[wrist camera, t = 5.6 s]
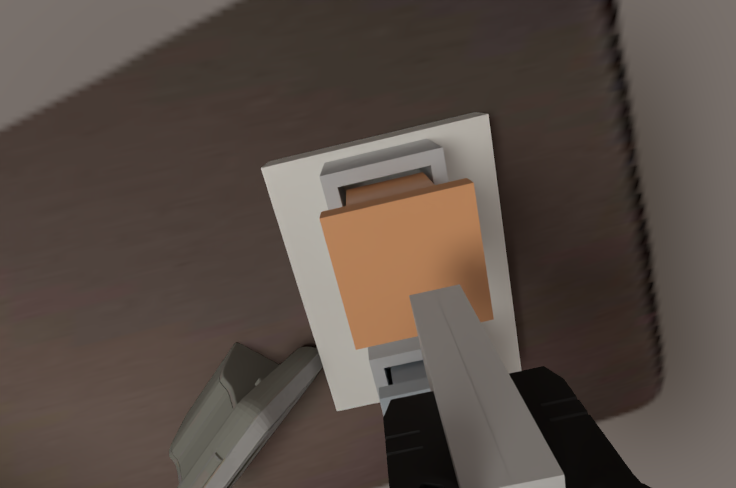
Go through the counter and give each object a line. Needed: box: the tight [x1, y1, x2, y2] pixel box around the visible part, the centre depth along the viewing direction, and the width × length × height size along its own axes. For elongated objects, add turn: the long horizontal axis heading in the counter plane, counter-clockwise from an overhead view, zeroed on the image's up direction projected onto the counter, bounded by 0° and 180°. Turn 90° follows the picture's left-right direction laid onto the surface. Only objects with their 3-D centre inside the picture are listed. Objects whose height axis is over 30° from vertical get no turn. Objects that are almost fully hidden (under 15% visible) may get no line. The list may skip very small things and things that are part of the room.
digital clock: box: [169, 343, 323, 488], centre depth 32 cm, size 16×9×11 cm, turn 134°
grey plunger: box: [379, 360, 430, 415], centre depth 29 cm, size 6×6×8 cm
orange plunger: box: [319, 172, 494, 350], centre depth 21 cm, size 6×6×8 cm
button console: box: [261, 112, 521, 415], centre depth 30 cm, size 15×20×8 cm
